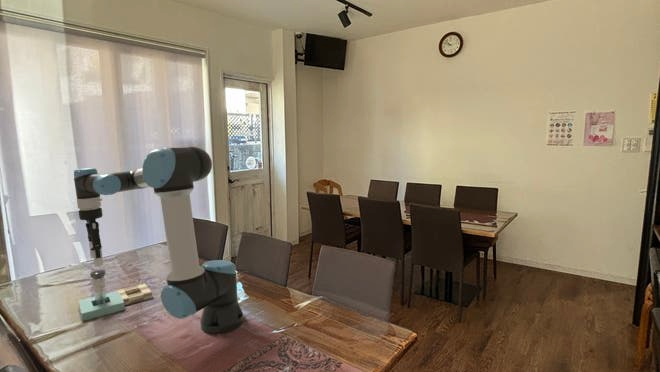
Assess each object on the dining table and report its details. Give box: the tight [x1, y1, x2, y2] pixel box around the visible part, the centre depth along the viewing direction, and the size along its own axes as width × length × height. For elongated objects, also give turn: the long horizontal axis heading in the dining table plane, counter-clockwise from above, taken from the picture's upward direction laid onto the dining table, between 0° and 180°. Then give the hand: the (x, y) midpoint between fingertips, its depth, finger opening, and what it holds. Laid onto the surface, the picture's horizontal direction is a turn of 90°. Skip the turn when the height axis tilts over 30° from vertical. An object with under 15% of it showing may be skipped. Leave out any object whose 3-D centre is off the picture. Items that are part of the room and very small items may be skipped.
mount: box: [116, 283, 153, 306], centre depth 154 cm, size 12×12×2 cm
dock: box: [78, 290, 126, 322], centre depth 144 cm, size 14×14×3 cm
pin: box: [89, 269, 107, 306], centre depth 143 cm, size 5×5×15 cm
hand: (96, 261), depth 141 cm, fingers open, 13 cm apart
